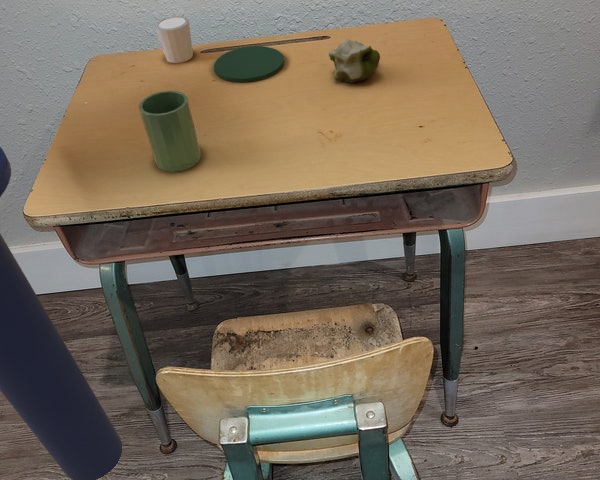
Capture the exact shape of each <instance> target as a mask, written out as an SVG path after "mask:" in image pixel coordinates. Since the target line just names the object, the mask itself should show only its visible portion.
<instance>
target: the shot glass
mask: <svg viewBox="0 0 600 480" xmlns="http://www.w3.org/2000/svg"><path fill="white" fill-rule="evenodd" d="M154 29H155V31H156V33H157V37H158V40H159V42H160V46H161V49H162V51H163V54H164V57H165V59H166V62H168V63H171V64H181V63H185V62H187V61H190V60H191V59H192V58H193V57H194V53H193V52H194V51H193V44H192V43H193V42H192V34H191V27H190V20H189V18H188V17H185V16H180V15H179V16H178V15H177V16H175V15H174V16H169V17H165V18H162V19H159V20H158V21H157V22H155V24H154Z"/></svg>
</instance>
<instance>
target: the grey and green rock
mask: <svg viewBox="0 0 600 480" xmlns="http://www.w3.org/2000/svg"><path fill="white" fill-rule="evenodd" d="M328 57H329V60H330V61H332V62H333V65H334V69H335V70H334V73H333V78H334V79H335V80H338V81H340V82H343V83H347V84H350V83H357V82H360V81H364V80H366V79H368V78H369V77H371V76H372V75H373V74H374V72H375V71H376V70H377V68H378V66H379V64H380V59H381V54H380V52H379V50H377V49H373V48H372V46H371V45H368V46H365V45H364V44H363V42H358V41H357V40H351V39H345V40H344V41H343V42H341V43H339V44H338V45H337V48H336V49H331V50H330V51H329V52H328Z"/></svg>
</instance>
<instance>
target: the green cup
mask: <svg viewBox="0 0 600 480" xmlns="http://www.w3.org/2000/svg"><path fill="white" fill-rule="evenodd" d="M189 102H190V101H189V98H188V96H187V95H186V93H184V92H181V91H178V90H164V91H163V90H161V91H158V92H155V93H152V94H150V95H148V96H146V97H145V98H143V99H142V100H141V101H140V102H139V105H138V110H139V113H140V116H141V120H142V124H143V127H144V130H145V133H146V136H147V139H148V143H149V146H150V150H151V153H152V156H153V159H154V162H155V165H156V166H157V168H158V169H159V170H161V171H164V172H168V173H175V172H176V173H177V172H182V171H186V170H189V169H191V168H192V167H194V166H195V165H197V164H198V163H199V162H200V160H201V156H202V154H201V148H200V144H199V140H198V135H197V130H196V126H195V123H194V118H193V113H192V110H191V106H190V103H189Z"/></svg>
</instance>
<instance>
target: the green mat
mask: <svg viewBox="0 0 600 480" xmlns="http://www.w3.org/2000/svg"><path fill="white" fill-rule="evenodd" d="M284 65H285V57H284V55H283V53H282V52H281V51H280V50H278V49H276V48H273V47H268V46H262V45H253V46H252V45H251V46H243V47H239V48H235V49H232V50H229V51H227V52H225V53H223V54H221V55H220V56H219V57H217V59H216V60H215V61H214V64H213V70H214V73H215V74H216V76H217V77H219V78H220V79H222V80H225V81H227V82H233V83H252V82H257V81H261V80H264V79H267V78H270V77H273V76H274V75H276V74H277V73H279V72H280V71H281V70H282V69H283V67H284Z"/></svg>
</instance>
